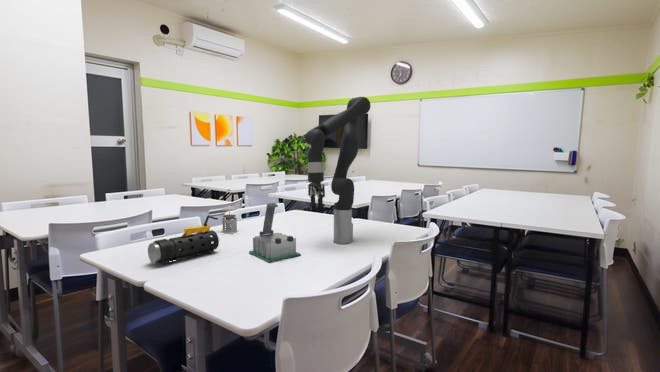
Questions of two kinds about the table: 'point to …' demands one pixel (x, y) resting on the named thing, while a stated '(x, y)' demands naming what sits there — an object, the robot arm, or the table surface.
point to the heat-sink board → (274, 247)
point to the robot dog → (198, 228)
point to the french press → (229, 220)
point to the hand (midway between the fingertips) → (316, 205)
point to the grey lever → (269, 218)
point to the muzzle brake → (182, 246)
